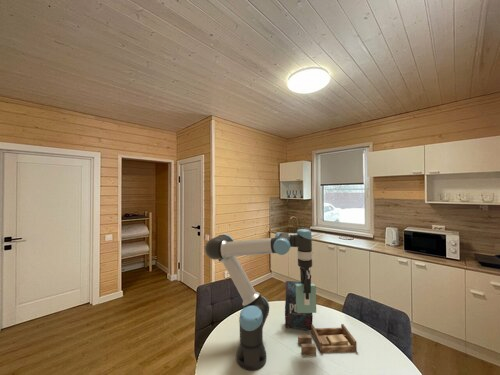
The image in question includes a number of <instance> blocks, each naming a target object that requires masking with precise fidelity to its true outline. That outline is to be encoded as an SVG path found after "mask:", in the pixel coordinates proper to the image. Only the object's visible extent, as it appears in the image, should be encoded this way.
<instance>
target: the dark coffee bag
mask: <svg viewBox="0 0 500 375" xmlns="http://www.w3.org/2000/svg"><path fill="white" fill-rule="evenodd" d="M296 284H301V281H293V280H290V281H289V280H285V300H284V302H285V303H284V320H285V322H284V323H285V324H284V325H285V329H291V330H292V329H293V330H301V331H311V325H313V319H314V318H313V313H297V311H296Z"/></svg>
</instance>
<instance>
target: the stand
mask: <svg viewBox="0 0 500 375" xmlns="http://www.w3.org/2000/svg"><path fill="white" fill-rule="evenodd" d="M297 344H298V346H300V348H301V351H300V352H301V354H302V356H309V355H310V356H311V355H317V345H316V343H313V336H312V334H298V335H297Z"/></svg>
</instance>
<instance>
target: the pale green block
mask: <svg viewBox="0 0 500 375" xmlns="http://www.w3.org/2000/svg"><path fill="white" fill-rule="evenodd" d="M303 291H305V290H304V284H296V311H297V313H312V314H313V313H314V314H317V288H316V284H315V283H313V282H312V283H311V293H309V296H310V305H304V293H303Z"/></svg>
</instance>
